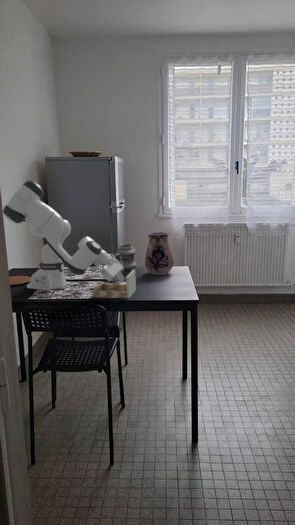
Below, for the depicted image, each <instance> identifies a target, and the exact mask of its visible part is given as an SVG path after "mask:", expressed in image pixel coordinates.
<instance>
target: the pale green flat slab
mask: <svg viewBox="0 0 295 525" xmlns="http://www.w3.org/2000/svg"><path fill="white" fill-rule="evenodd" d="M125 281H126V282H125V284H126V286H127V298H126V299H130V298H131V297H132V295H133V294H134V293H135V292H136V290H137V284H136V282H137V281H136V269H132V272H131V273H130V274H129V275H126V277H125Z"/></svg>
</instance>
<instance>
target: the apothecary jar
mask: <svg viewBox="0 0 295 525" xmlns="http://www.w3.org/2000/svg"><path fill="white" fill-rule="evenodd" d="M116 253H122V260H123V276H128V275H129V274H130V273H131V272H132V271H133V270H134V269H135V268H136V267H137V262H136V261H135V254H136V253H137V251H136V249H135V248H134V245H133V244H130V243H125V244H120V245H119V246H118V249H117V250H116Z"/></svg>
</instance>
